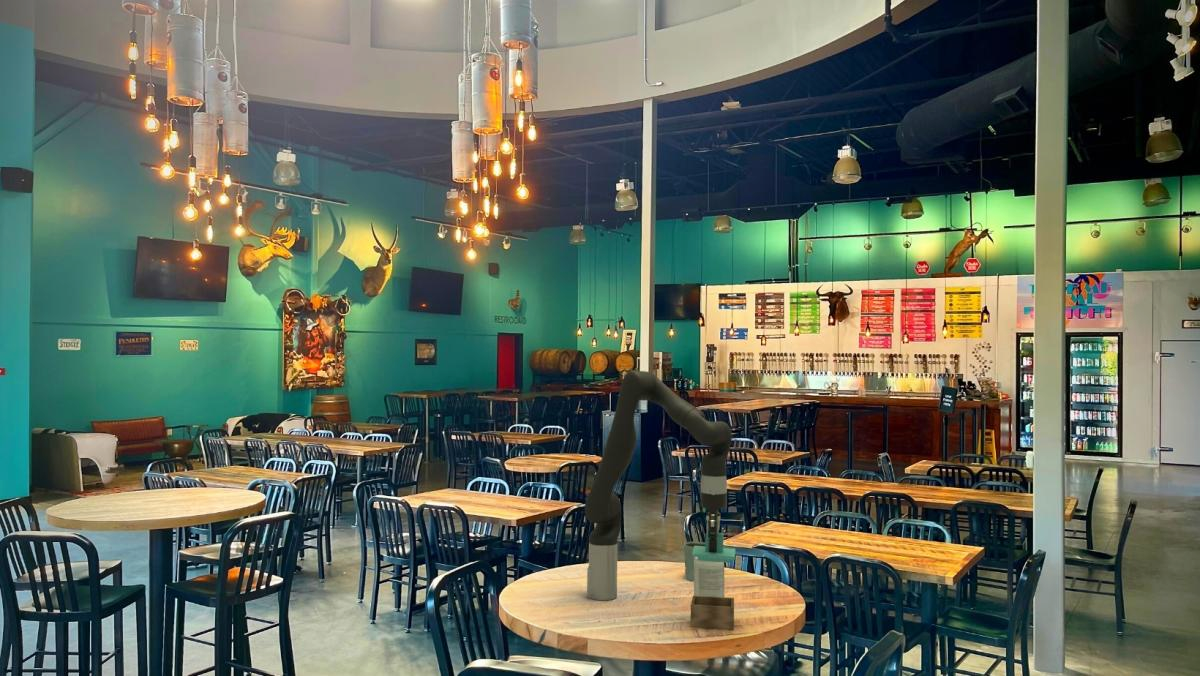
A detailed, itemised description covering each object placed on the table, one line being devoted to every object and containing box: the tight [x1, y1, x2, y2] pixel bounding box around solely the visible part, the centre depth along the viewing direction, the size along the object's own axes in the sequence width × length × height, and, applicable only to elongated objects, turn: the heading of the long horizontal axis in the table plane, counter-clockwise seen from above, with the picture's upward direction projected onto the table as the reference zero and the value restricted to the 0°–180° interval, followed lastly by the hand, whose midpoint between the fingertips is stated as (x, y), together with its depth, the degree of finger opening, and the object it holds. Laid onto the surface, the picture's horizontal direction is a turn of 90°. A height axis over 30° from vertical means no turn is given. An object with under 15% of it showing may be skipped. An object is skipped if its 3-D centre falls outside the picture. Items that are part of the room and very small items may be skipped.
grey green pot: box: [683, 541, 706, 582], centre depth 290 cm, size 10×10×12 cm
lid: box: [692, 531, 736, 564], centre depth 238 cm, size 12×10×7 cm
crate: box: [690, 594, 735, 631], centre depth 238 cm, size 12×10×7 cm
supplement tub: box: [693, 557, 726, 597], centre depth 260 cm, size 10×10×15 cm
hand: (713, 550), depth 238 cm, fingers closed on lid, 3 cm apart
